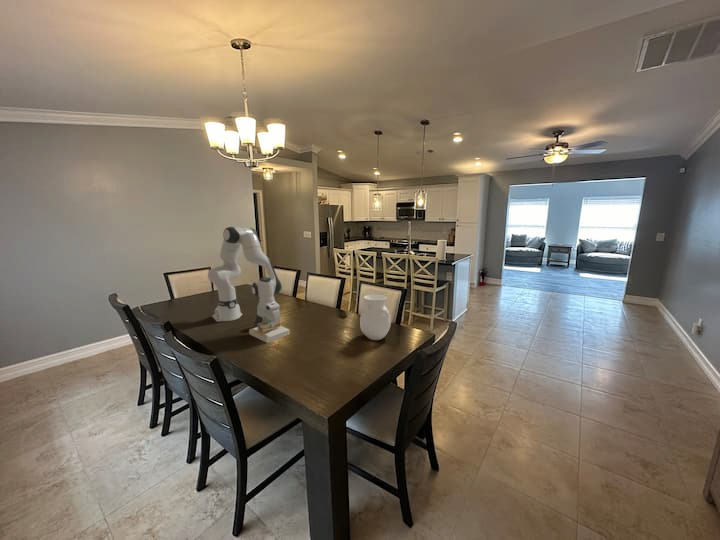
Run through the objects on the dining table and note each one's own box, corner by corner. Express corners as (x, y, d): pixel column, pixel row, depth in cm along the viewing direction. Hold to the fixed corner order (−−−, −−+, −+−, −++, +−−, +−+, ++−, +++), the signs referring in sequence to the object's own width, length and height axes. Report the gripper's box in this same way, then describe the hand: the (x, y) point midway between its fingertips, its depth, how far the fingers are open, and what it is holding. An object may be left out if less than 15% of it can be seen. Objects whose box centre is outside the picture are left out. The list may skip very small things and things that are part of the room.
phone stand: (258, 329, 185) (256, 312, 183) (254, 327, 189) (252, 310, 187) (270, 325, 191) (269, 308, 189) (266, 323, 196) (265, 307, 193)
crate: (264, 322, 176) (263, 316, 175) (269, 320, 179) (269, 314, 178) (267, 323, 174) (267, 317, 173) (273, 322, 177) (272, 315, 176)
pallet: (257, 330, 175) (257, 323, 174) (274, 324, 184) (274, 318, 183) (263, 332, 171) (262, 326, 170) (280, 326, 180) (279, 320, 179)
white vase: (374, 328, 185) (374, 291, 180) (397, 336, 172) (397, 296, 167) (353, 337, 172) (352, 297, 167) (376, 346, 159) (376, 303, 154)
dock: (249, 334, 178) (249, 329, 178) (271, 326, 190) (271, 321, 190) (267, 342, 165) (266, 337, 165) (290, 334, 177) (289, 329, 177)
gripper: (253, 302, 178) (255, 322, 181) (272, 308, 165) (273, 330, 168) (262, 299, 183) (264, 320, 186) (281, 305, 170) (282, 327, 173)
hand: (268, 325), depth 177 cm, fingers closed on pallet, 6 cm apart
